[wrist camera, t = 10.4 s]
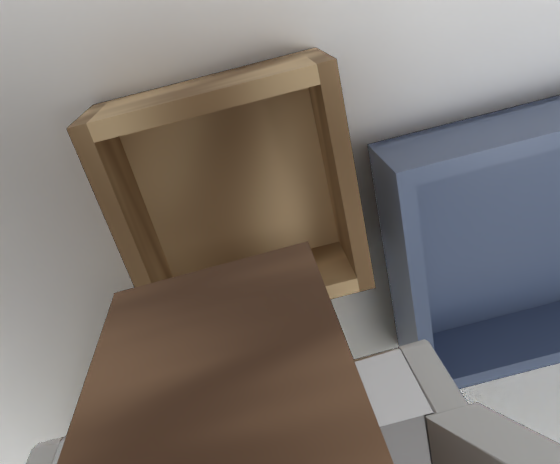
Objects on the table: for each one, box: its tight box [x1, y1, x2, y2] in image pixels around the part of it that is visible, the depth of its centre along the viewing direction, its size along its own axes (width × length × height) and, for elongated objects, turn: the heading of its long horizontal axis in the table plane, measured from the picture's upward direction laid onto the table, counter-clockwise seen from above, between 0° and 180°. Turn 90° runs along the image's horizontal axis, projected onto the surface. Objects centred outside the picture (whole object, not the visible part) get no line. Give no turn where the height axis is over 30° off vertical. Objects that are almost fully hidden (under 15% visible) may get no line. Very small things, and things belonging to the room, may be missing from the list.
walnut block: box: [57, 241, 394, 464], centre depth 8 cm, size 4×4×6 cm
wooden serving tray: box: [66, 48, 376, 299], centre depth 18 cm, size 8×8×4 cm
